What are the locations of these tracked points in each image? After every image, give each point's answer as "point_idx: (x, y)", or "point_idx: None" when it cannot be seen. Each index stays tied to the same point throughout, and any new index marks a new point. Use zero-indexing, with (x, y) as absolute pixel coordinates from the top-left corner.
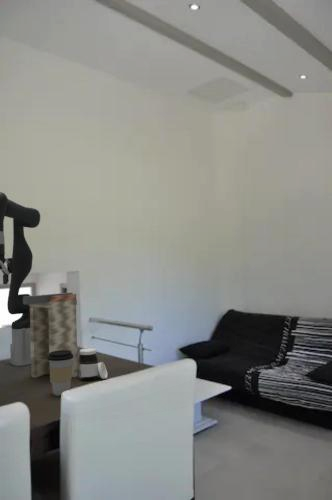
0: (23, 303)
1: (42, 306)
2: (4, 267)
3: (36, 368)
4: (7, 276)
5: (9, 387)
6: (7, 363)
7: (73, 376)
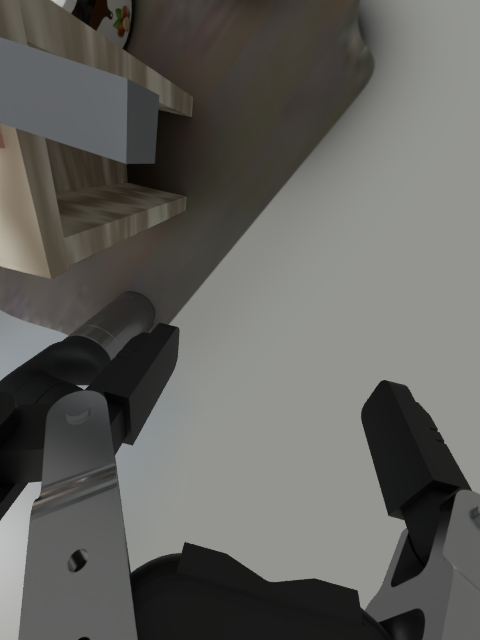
0: (153, 154)
1: None
2: (72, 545)
3: (173, 197)
4: (110, 381)
5: (268, 187)
6: None
7: None
